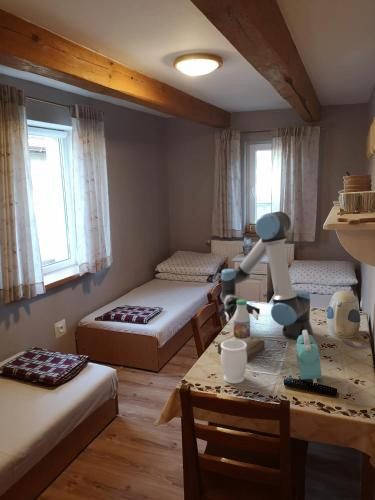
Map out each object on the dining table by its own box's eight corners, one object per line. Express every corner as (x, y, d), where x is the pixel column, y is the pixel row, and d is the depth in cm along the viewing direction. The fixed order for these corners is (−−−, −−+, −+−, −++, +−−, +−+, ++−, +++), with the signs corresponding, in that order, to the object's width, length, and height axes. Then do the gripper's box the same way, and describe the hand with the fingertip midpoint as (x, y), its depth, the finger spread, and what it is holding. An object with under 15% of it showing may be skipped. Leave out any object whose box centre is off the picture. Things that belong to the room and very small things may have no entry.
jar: (229, 387, 154) (228, 352, 151) (216, 376, 163) (216, 342, 160) (252, 381, 158) (251, 346, 155) (238, 370, 167) (238, 337, 164)
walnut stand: (264, 349, 187) (264, 339, 186) (247, 362, 174) (247, 351, 174) (236, 341, 197) (236, 332, 196) (218, 353, 184) (217, 343, 184)
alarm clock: (323, 390, 150) (324, 340, 146) (297, 388, 152) (298, 339, 148) (317, 368, 167) (319, 324, 163) (294, 367, 168) (295, 323, 165)
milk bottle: (233, 338, 189) (232, 298, 185) (249, 337, 188) (248, 297, 185) (234, 344, 181) (233, 303, 178) (251, 344, 181) (250, 302, 177)
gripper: (256, 309, 202) (269, 324, 181) (208, 312, 200) (216, 327, 179) (256, 295, 201) (269, 308, 180) (208, 298, 198) (215, 312, 178)
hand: (242, 318), depth 179 cm, fingers open, 13 cm apart
